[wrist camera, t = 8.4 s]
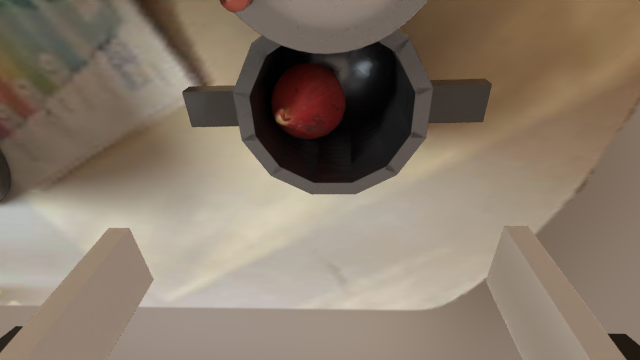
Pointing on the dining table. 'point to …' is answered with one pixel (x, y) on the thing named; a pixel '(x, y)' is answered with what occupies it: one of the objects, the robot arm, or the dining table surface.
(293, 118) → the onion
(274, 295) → the dining table surface
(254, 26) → the lid
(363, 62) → the pot
